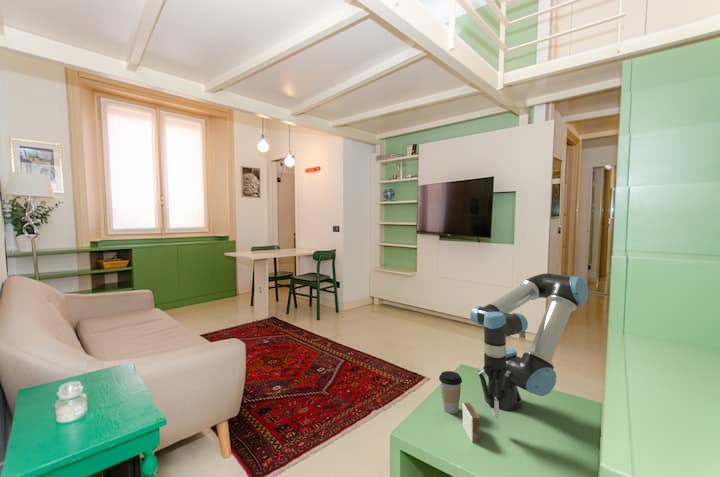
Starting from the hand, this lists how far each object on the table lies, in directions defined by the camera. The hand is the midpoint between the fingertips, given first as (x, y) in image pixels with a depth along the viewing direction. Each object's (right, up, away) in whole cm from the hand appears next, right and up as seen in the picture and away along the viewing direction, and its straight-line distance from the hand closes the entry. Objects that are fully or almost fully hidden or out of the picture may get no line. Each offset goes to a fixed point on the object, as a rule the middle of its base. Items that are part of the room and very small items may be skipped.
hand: (495, 415), depth 120 cm
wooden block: (-9, -7, 0) cm, 11 cm away
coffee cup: (-12, -7, +16) cm, 21 cm away
